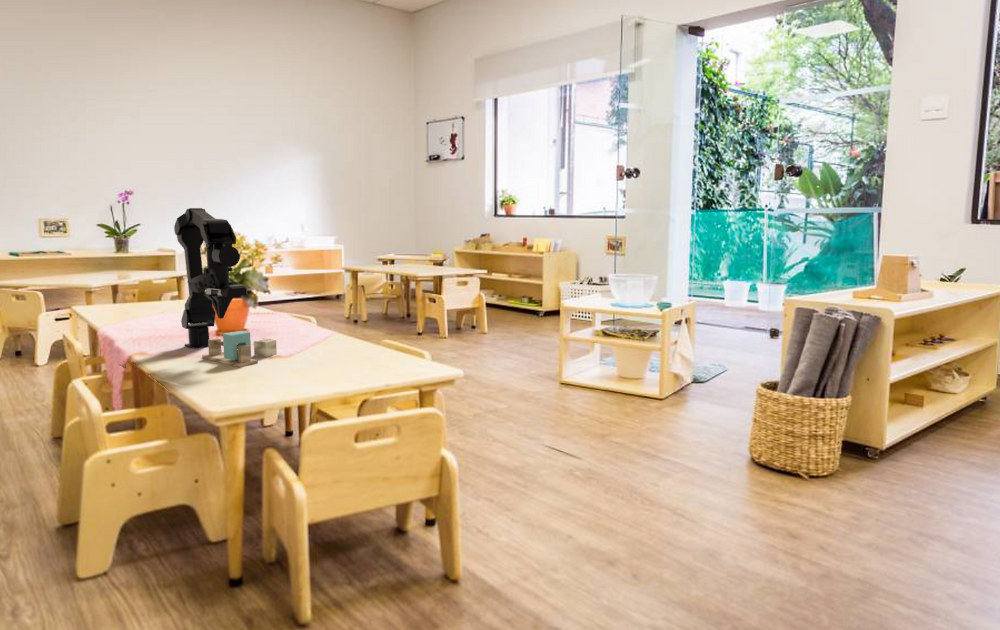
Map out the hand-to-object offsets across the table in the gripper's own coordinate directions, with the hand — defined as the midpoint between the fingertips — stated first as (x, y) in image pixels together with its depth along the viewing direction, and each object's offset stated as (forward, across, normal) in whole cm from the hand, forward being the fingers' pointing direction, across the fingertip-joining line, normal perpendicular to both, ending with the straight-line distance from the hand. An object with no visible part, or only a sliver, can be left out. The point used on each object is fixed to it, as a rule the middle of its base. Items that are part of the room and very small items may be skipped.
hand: (220, 318), depth 200 cm
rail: (+12, +4, 0) cm, 12 cm away
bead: (+10, +8, 0) cm, 13 cm away
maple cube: (+12, +5, +11) cm, 17 cm away
